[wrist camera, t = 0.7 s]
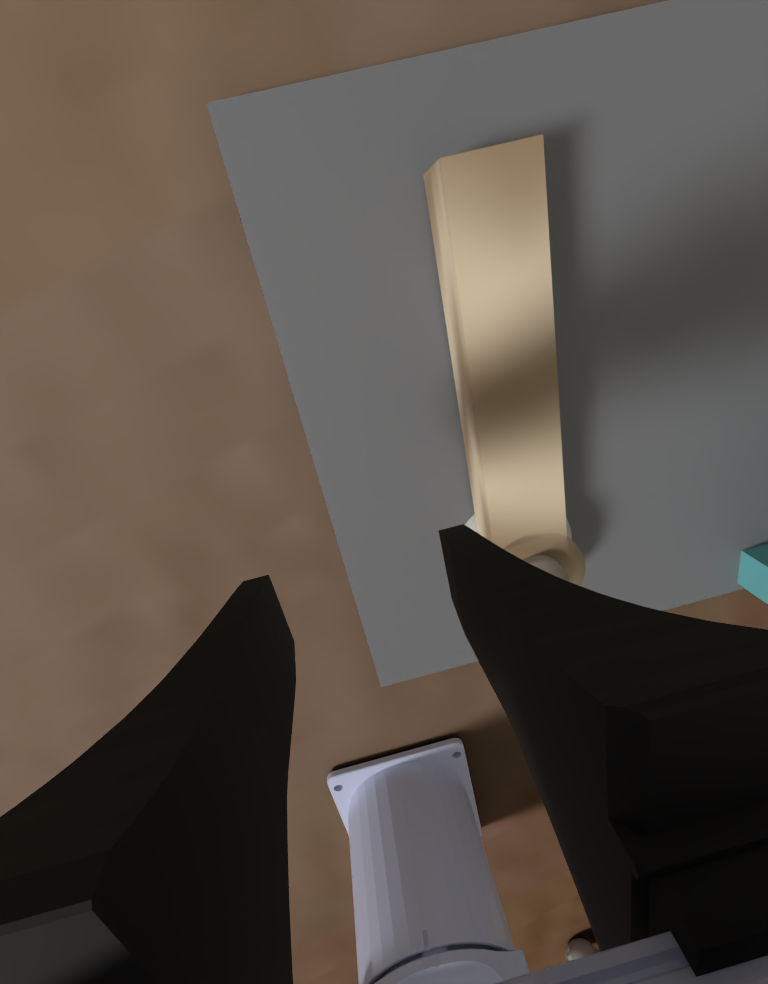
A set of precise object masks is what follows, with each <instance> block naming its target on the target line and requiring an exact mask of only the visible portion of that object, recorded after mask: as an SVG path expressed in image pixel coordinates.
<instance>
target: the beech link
mask: <svg viewBox="0 0 768 984" xmlns="http://www.w3.org/2000/svg"><path fill="white" fill-rule="evenodd" d="M423 176H424V183H425V189H426V196H427V203H428V209H429V216H430V222H431V229H432V235H433V242H434V249H435V255H436V262H437V268H438V275H439V281H440V288H441V295H442V301H443V308H444V314H445V321H446V328H447V334H448V341H449V347H450V354H451V360H452V367H453V374H454V380H455V387H456V393H457V400H458V407H459V413H460V420H461V426H462V433H463V439H464V446H465V453H466V459H467V466H468V472H469V479H470V486H471V492H472V499H473V505H474V512H475V518H476V525H477V533H478V534H480V535H481V536H483V537H485V538H486V539H488V540H489V541H491V542H493V543H494V544H496V545H497V546H499V547H501V548H502V549H504V550H506V551H507V552H509V553H511V554H513V555H514V556H516V557H518V558H520V559H522V560H524V561H526V562H527V563H529V564H531V565H533V566H535V567H538V568H540V569H542V570H544V571H546V572H548V573H550V574H552V575H554V576H557V577H559V578H561V579H564V580H566V581H568V582H571V583H574V584H576V585H579V586H582V583H583V580H584V576H585V560H584V557H583V554H582V552H581V550H580V549H579V547H578V546H577V545H576V544H575V543H574V542H573V541H572V540H571V539H570V538H569V537H568V536H567V525H566V508H565V492H564V475H563V458H562V442H561V425H560V408H559V391H558V375H557V358H556V341H555V324H554V308H553V291H552V274H551V257H550V241H549V224H548V207H547V191H546V174H545V157H544V140H543V134H542V135H538V136H533V137H529V138H525V139H520V140H516V141H512V142H507V143H503V144H499V145H494V146H490V147H486V148H481V149H477V150H473V151H468V152H464V153H460V154H455V155H451V156H447V157H442V158H440V159H439V160H438V161H437V162H436V163H435V164H434V165H433V166H432V167H431V168H430V169H429V170H428V171H427V172H426V173H425V174H424V175H423Z"/></svg>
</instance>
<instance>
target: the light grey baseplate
mask: <svg viewBox="0 0 768 984" xmlns="http://www.w3.org/2000/svg"><path fill="white" fill-rule="evenodd" d="M206 104H207V108H208V111H209V114H210V118H211V121H212V124H213V128H214V131H215V134H216V138H217V141H218V144H219V148H220V151H221V154H222V158H223V161H224V164H225V168H226V171H227V174H228V178H229V181H230V184H231V188H232V191H233V194H234V198H235V201H236V205H237V208H238V211H239V215H240V218H241V221H242V225H243V228H244V231H245V235H246V238H247V241H248V245H249V248H250V251H251V255H252V258H253V261H254V265H255V268H256V271H257V275H258V278H259V281H260V285H261V288H262V291H263V295H264V298H265V301H266V305H267V308H268V311H269V315H270V318H271V321H272V325H273V328H274V331H275V335H276V338H277V341H278V345H279V348H280V351H281V355H282V358H283V361H284V365H285V368H286V371H287V375H288V378H289V381H290V385H291V388H292V392H293V395H294V398H295V402H296V405H297V408H298V412H299V415H300V418H301V422H302V425H303V428H304V432H305V435H306V438H307V442H308V445H309V448H310V452H311V455H312V458H313V462H314V465H315V468H316V472H317V475H318V478H319V482H320V485H321V488H322V492H323V495H324V498H325V502H326V505H327V508H328V512H329V515H330V518H331V522H332V525H333V528H334V532H335V535H336V538H337V542H338V545H339V548H340V552H341V555H342V558H343V562H344V565H345V568H346V572H347V575H348V579H349V582H350V585H351V589H352V592H353V595H354V599H355V602H356V605H357V609H358V612H359V615H360V619H361V622H362V625H363V629H364V632H365V635H366V639H367V642H368V645H369V649H370V652H371V655H372V659H373V662H374V665H375V669H376V672H377V675H378V679H379V682H380V685H381V687H384V686H388V685H392V684H395V683H399V682H403V681H406V680H410V679H414V678H417V677H421V676H425V675H428V674H432V673H436V672H439V671H443V670H447V669H451V668H454V667H458V666H462V665H465V664H469V663H473V662H476V661H478V659H477V657H476V655H475V653H474V651H473V649H472V647H471V645H470V643H469V641H468V640H467V638H466V636H465V633H464V631H463V628H462V626H461V623H460V620H459V618H458V615H457V612H456V610H455V607H454V604H453V601H452V598H451V593H450V588H449V583H448V578H447V572H446V567H445V562H444V557H443V552H442V546H441V541H440V536H439V530H443V529H446V528H450V527H454V526H458V525H462V524H464V525H466V526H467V527H469V528H470V529H472V530H474V531H475V532H477V525H476V518H475V512H474V505H473V499H472V492H471V486H470V479H469V472H468V466H467V459H466V453H465V446H464V439H463V433H462V426H461V420H460V413H459V407H458V400H457V393H456V387H455V380H454V374H453V367H452V360H451V354H450V347H449V341H448V334H447V328H446V321H445V314H444V308H443V301H442V295H441V288H440V281H439V275H438V268H437V262H436V255H435V249H434V242H433V235H432V229H431V222H430V216H429V209H428V203H427V196H426V189H425V183H424V176H423V175H424V174H425V173H426V172H427V171H428V170H429V169H430V168H431V167H432V166H433V165H434V164H435V163H436V162H437V161H438V160H439V159H440V158H442V157H447V156H451V155H455V154H460V153H464V152H468V151H473V150H477V149H481V148H486V147H490V146H494V145H499V144H503V143H507V142H512V141H516V140H520V139H525V138H529V137H533V136H538V135H542V134H543V140H544V157H545V174H546V191H547V207H548V224H549V241H550V257H551V274H552V291H553V308H554V324H555V341H556V358H557V375H558V391H559V408H560V425H561V442H562V458H563V475H564V492H565V508H566V525H567V536H568V537H569V538H570V539H571V540H572V541H573V542H574V543H575V544H576V545H577V546H578V547H579V549H580V550H581V552H582V554H583V557H584V560H585V576H584V580H583V583H582V586H581V587H584V588H587V589H589V590H592V591H595V592H598V593H601V594H604V595H607V596H610V597H613V598H616V599H620V600H623V601H626V602H630V603H633V604H637V605H640V606H644V607H648V608H652V609H656V610H660V611H664V610H668V609H671V608H675V607H679V606H682V605H686V604H690V603H693V602H697V601H701V600H704V599H708V598H712V597H715V596H719V595H723V594H726V593H730V592H734V591H737V590H741V589H745V588H744V587H742V586H741V585H739V584H738V583H737V581H738V573H739V565H740V557H741V551H742V550H745V549H749V548H753V547H756V546H760V545H764V544H768V0H667V1H663V2H658V3H654V4H649V5H645V6H640V7H636V8H631V9H627V10H622V11H618V12H613V13H609V14H604V15H600V16H595V17H591V18H586V19H582V20H577V21H573V22H568V23H564V24H559V25H555V26H550V27H546V28H541V29H537V30H532V31H528V32H523V33H519V34H514V35H510V36H505V37H501V38H496V39H492V40H487V41H483V42H478V43H474V44H469V45H465V46H460V47H456V48H451V49H447V50H442V51H438V52H433V53H429V54H424V55H420V56H415V57H411V58H406V59H402V60H397V61H393V62H388V63H384V64H379V65H375V66H370V67H366V68H361V69H357V70H352V71H348V72H343V73H339V74H334V75H330V76H325V77H321V78H316V79H312V80H307V81H303V82H298V83H294V84H289V85H285V86H280V87H276V88H271V89H267V90H262V91H258V92H253V93H249V94H244V95H240V96H235V97H231V98H226V99H222V100H217V101H213V102H209V103H206Z"/></svg>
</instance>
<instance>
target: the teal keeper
mask: <svg viewBox="0 0 768 984" xmlns="http://www.w3.org/2000/svg"><path fill="white" fill-rule="evenodd" d="M737 583H738V584H739V585H741V586H742V587H744V588H745V589H747V590H748V591H749V592H751V593H752V594H754V595H755V596H756V597H758V598H759V599H761V600H762V601H764V602H765V603H766V604H768V544H764V545H760V546H756V547H753V548H749V549H745V550H742V551H741V557H740V565H739V573H738V581H737Z"/></svg>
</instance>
